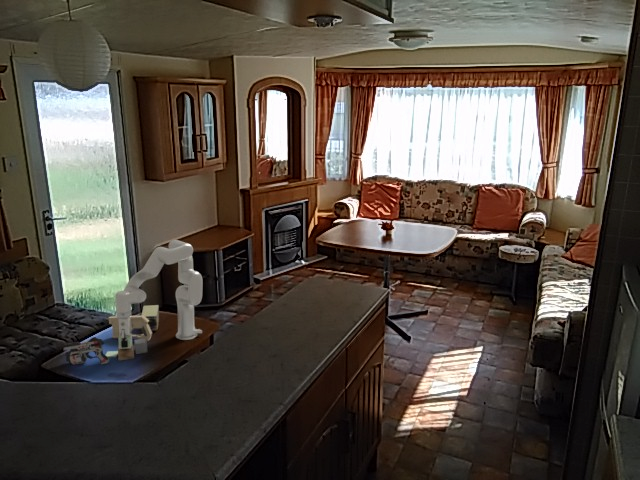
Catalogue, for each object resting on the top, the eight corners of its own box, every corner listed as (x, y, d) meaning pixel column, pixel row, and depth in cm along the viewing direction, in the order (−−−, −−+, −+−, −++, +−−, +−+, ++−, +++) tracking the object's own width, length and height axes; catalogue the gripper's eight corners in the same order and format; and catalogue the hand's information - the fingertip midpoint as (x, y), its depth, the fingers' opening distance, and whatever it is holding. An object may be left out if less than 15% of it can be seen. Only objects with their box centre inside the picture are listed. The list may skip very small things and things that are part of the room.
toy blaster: (70, 367, 281) (63, 341, 277) (110, 360, 281) (103, 334, 278) (68, 370, 277) (60, 344, 273) (108, 363, 278) (101, 337, 274)
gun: (153, 338, 311) (150, 315, 308) (150, 341, 308) (147, 317, 305) (114, 339, 314) (110, 315, 311) (111, 341, 311) (107, 317, 307)
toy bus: (140, 332, 318) (140, 317, 317) (143, 320, 341) (143, 305, 339) (158, 331, 321) (157, 316, 319) (159, 319, 343) (159, 304, 341)
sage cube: (132, 343, 290) (131, 333, 289) (130, 348, 285) (130, 337, 283) (120, 344, 289) (120, 334, 288) (118, 348, 283) (118, 338, 282)
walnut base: (133, 352, 293) (133, 344, 292) (134, 358, 286) (133, 350, 285) (118, 354, 290) (117, 346, 289) (118, 360, 283) (118, 352, 282)
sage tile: (118, 352, 293) (118, 351, 293) (116, 356, 287) (116, 355, 287) (107, 352, 292) (107, 351, 292) (105, 357, 286) (104, 356, 286)
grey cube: (145, 348, 299) (145, 338, 298) (147, 352, 294) (146, 342, 293) (134, 349, 297) (134, 339, 295) (136, 354, 291) (135, 344, 290)
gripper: (128, 319, 275) (130, 351, 279) (133, 307, 291) (135, 338, 296) (113, 320, 274) (115, 352, 278) (119, 308, 290) (121, 338, 294)
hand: (125, 344), depth 287 cm, fingers closed on sage cube, 5 cm apart
